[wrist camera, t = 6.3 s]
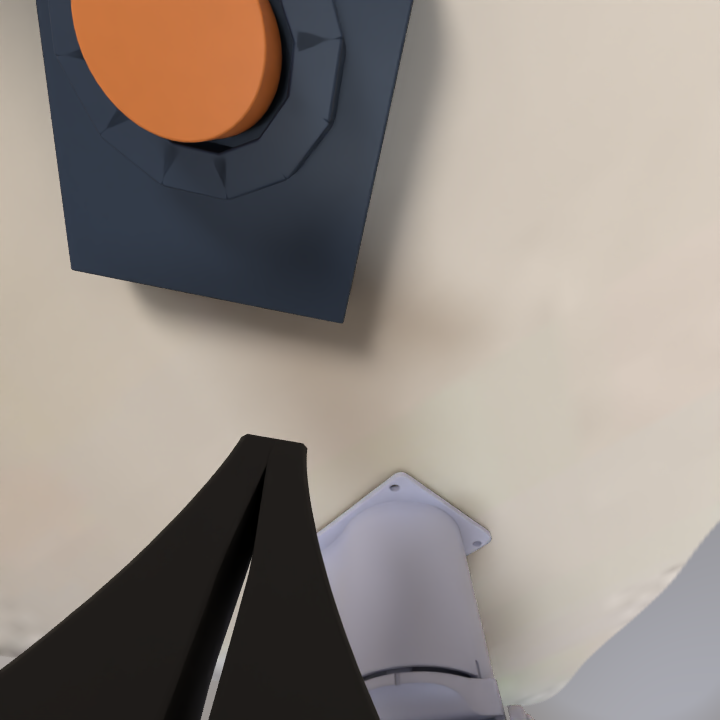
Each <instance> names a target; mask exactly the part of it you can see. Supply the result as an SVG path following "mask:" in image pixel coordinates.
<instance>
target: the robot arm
mask: <svg viewBox="0 0 720 720" xmlns="http://www.w3.org/2000/svg"><path fill="white" fill-rule="evenodd" d="M392 485H397V486H392ZM491 539H492V538H491V534H490V532H489V531H488V530H487V529H485V528H484V527H482V526H481V525H479V524H478V523H477V522H475V521H474V520H472V519H471V518H469V517H468V516H467V515H465V514H464V513H462V512H461V511H460V510H458V509H457V508H455V507H454V506H452V505H451V504H450V503H448V502H447V501H445V500H444V499H442V498H441V497H440V496H438V495H437V494H435V493H434V492H432V491H431V490H430V489H428V488H427V487H425V486H424V485H422V484H421V483H420V482H418V481H417V480H415V479H414V478H413V477H411V476H410V475H408V474H407V473H404V472H398V473H396V474H394V475H393V476H391V477H390V478H389V479H387V480H386V481H385V482H383V483H382V484H381V485H379V486H378V487H377V488H376V489H374V490H373V491H372V492H370V493H369V494H368V495H366V496H365V497H364V498H362V499H361V500H360V501H358V502H357V503H356V504H355V505H353V506H352V507H351V508H349V509H348V510H347V511H345V512H344V513H343V514H341V515H340V516H339V517H337V518H336V519H335V520H334V521H332V522H331V523H330V524H328V525H327V526H326V527H324V528H323V529H322V530H320V531H319V532H318V533H317V532H316V527H315V522H314V518H313V513H312V508H311V501H310V495H309V487H308V479H307V448H306V446H305V445H304V444H303V443H297V442H291V441H285V440H280V439H274V438H268V437H262V436H256V435H250V434H246V435H245V436H243V437H241V439H240V440H239V442H238V443H237V445H236V446H235V448H234V449H233V451H232V452H231V453H230V455H229V456H228V457H227V459H226V460H225V461H224V462H223V464H222V465H221V466H220V467H219V469H218V470H217V471H216V472H215V474H214V475H213V476H212V477H211V478H210V480H209V481H208V482H207V483H206V484H205V485H204V487H203V488H202V489H201V490H200V491H199V492H198V493H197V494H196V496H195V497H194V498H193V499H192V500H191V501H190V502H189V503H188V505H187V506H186V507H185V508H184V509H183V510H182V511H181V512H180V513H179V514H178V515H177V516H176V517H175V518H174V519H173V520H172V521H171V522H170V523H169V524H168V525H167V526H166V527H165V528H164V529H163V530H162V531H161V532H160V533H159V535H158V536H157V537H156V538H155V539H154V540H153V541H152V542H151V543H150V544H149V545H148V546H147V547H146V548H145V549H143V550H142V551H141V552H140V553H139V554H138V555H137V556H136V557H135V558H134V559H133V560H132V561H131V562H130V563H129V564H128V565H126V566H125V567H124V568H123V569H122V570H121V571H120V572H119V573H118V574H117V575H115V576H114V577H113V578H112V579H111V580H110V581H109V582H108V583H106V584H105V585H104V586H103V587H102V588H101V589H100V590H99V591H97V592H96V593H95V594H94V595H93V596H92V597H90V598H89V599H88V600H87V601H86V602H85V603H83V604H82V605H81V606H80V607H78V608H77V609H76V610H75V611H74V612H72V613H71V614H70V615H69V616H68V617H66V618H65V619H64V620H63V621H62V622H60V623H59V624H58V625H57V626H56V627H54V628H53V629H52V630H51V631H50V632H48V633H47V634H46V635H45V636H43V637H42V638H41V639H40V640H38V641H37V642H36V643H35V644H33V645H32V646H31V647H29V648H28V649H27V650H26V651H24V652H23V653H22V654H21V655H19V656H18V657H17V658H15V659H14V660H13V661H12V662H10V663H9V664H8V665H6V666H5V667H3V668H2V669H1V670H0V720H201V716H202V712H203V708H204V704H205V700H206V696H207V693H208V689H209V685H210V682H211V679H212V675H213V672H214V669H215V665H216V662H217V659H218V656H219V653H220V650H221V647H222V644H223V641H224V638H225V635H226V632H227V629H228V626H229V623H230V620H231V617H232V615H233V612H234V609H235V606H236V603H237V600H238V597H239V594H240V591H241V588H242V585H243V582H244V579H245V576H246V573H247V570H248V567H249V564H250V561H251V565H250V570H249V575H248V579H247V582H246V586H245V590H244V593H243V597H242V601H241V604H240V608H239V612H238V615H237V619H236V623H235V627H234V630H233V634H232V637H231V641H230V645H229V648H228V652H227V655H226V659H225V663H224V666H223V670H222V673H221V677H220V681H219V684H218V688H217V691H216V695H215V699H214V702H213V706H212V709H211V713H210V716H209V720H506V716H505V712H504V708H503V704H502V700H501V696H500V692H499V689H498V685H497V681H496V679H495V678H494V674H493V669H492V665H491V661H490V657H489V652H488V648H487V644H486V639H485V635H484V631H483V627H482V622H481V618H480V614H479V609H478V605H477V601H476V597H475V592H474V588H473V584H472V579H471V575H470V571H469V567H468V562H467V558H466V556H468V555H469V554H471V553H473V552H474V551H476V550H478V549H479V548H481V547H483V546H484V545H486V544H488V543H489V542H490V541H491ZM252 555H253V556H252ZM251 558H252V560H251ZM507 707H508V711H509V715H510V719H511V720H535V719H533V718H532V717H531V716H530V715H529V714H525V711H524V709H523V707H522V706H521V705H509V706H507Z"/></svg>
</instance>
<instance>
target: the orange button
mask: <svg viewBox="0 0 720 720" xmlns="http://www.w3.org/2000/svg"><path fill="white" fill-rule="evenodd" d="M71 11H72V17H73V24H74V28H75V32H76V36H77V40H78V43H79V46H80V49H81V51H82V54H83V57H84V59H85V61H86V63H87V65H88V67H89V70H90V71H91V73H92V75H93V76H94V78H95V80H96V82H97V83H98V85H99V86H100V87H101V89H102V90H103V92H104V93H105V94H106V96H107V97H108V98H109V99H110V100H111V102H112V103H113V104H114V105H115V106H116V107H117V108H118V109H119V110H120V111H121V112H122V113H123V114H124V115H125V116H126V117H128V118H129V119H130V120H132V121H133V122H134V123H136V124H137V125H138V126H140V127H142V128H143V129H145V130H147V131H148V132H150V133H153V134H155V135H157V136H159V137H162V138H165V139H168V140H172V141H178V142H186V143H196V142H204V141H210V140H216V139H223V138H229V137H232V136H235V135H238V134H240V133H242V132H245V131H246V130H248V129H249V128H251V127H252V126H254V125H255V124H256V123H257V122H258V121H259V120H260V119H261V118H262V117H263V115H264V114H265V113H266V112H267V110H268V108H269V107H270V105H271V103H272V101H273V99H274V97H275V94H276V92H277V88H278V85H279V81H280V76H281V69H282V47H281V39H280V33H279V28H278V25H277V21H276V17H275V15H274V12H273V10H272V7H271V4H270V2H269V0H71Z"/></svg>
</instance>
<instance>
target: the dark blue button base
mask: <svg viewBox="0 0 720 720" xmlns="http://www.w3.org/2000/svg"><path fill="white" fill-rule="evenodd" d="M269 2H270V4H271V7H272V10H273V12H274V15H275V17H276V21H277V25H278V28H279V33H280V39H281V47H282V69H281V76H280V81H279V85H278V88H277V92H276V94H275V97H274V99H273V101H272V103H271V105H270V107H269V108H268V110H267V112H266V113H265V114H264V115H263V117H262V118H261V119H260V120H259V121H258V122H257V123H256V124H255V125H254V126H252V127H251V128H249V129H248V130H246V131H245V132H242V133H240V134H238V135H235V136H232V137H229V138H223V139H216V140H210V141H204V142H196V143H186V142H178V141H172V140H168V139H165V138H162V137H159V136H157V135H155V134H153V133H150V132H148V131H147V130H145V129H143V128H142V127H140V126H138V125H137V124H136V123H134V122H133V121H132V120H130V119H129V118H128V117H126V116H125V115H124V114H123V113H122V112H121V111H120V110H119V109H118V108H117V107H116V106H115V105H114V104H113V103H112V102H111V100H110V99H109V98H108V97H107V96H106V94H105V93H104V92H103V90H102V89H101V87H100V86H99V85H98V83H97V82H96V80H95V78H94V76H93V75H92V73H91V71H90V70H89V67H88V65H87V63H86V61H85V59H84V57H83V54H82V51H81V49H80V46H79V43H78V40H77V36H76V32H75V28H74V24H73V17H72V11H71V0H36V5H37V13H38V21H39V28H40V36H41V43H42V51H43V58H44V66H45V73H46V81H47V89H48V96H49V104H50V111H51V119H52V126H53V134H54V142H55V149H56V157H57V164H58V172H59V179H60V187H61V194H62V202H63V210H64V217H65V225H66V232H67V240H68V247H69V255H70V262H71V269H72V270H75V271H80V272H85V273H90V274H95V275H100V276H105V277H110V278H115V279H120V280H125V281H130V282H135V283H140V284H145V285H150V286H155V287H160V288H165V289H170V290H175V291H180V292H185V293H190V294H195V295H200V296H205V297H210V298H215V299H220V300H225V301H230V302H236V303H241V304H246V305H251V306H256V307H261V308H266V309H271V310H276V311H281V312H286V313H291V314H296V315H301V316H306V317H311V318H316V319H321V320H326V321H331V322H336V323H343V322H344V318H345V314H346V309H347V305H348V300H349V295H350V291H351V286H352V282H353V277H354V272H355V268H356V263H357V259H358V254H359V249H360V245H361V240H362V235H363V231H364V226H365V222H366V217H367V212H368V208H369V203H370V199H371V194H372V189H373V185H374V180H375V176H376V171H377V166H378V162H379V157H380V153H381V148H382V143H383V139H384V134H385V129H386V125H387V120H388V116H389V111H390V106H391V102H392V97H393V93H394V88H395V83H396V79H397V74H398V70H399V65H400V60H401V56H402V51H403V47H404V42H405V37H406V33H407V28H408V23H409V19H410V14H411V10H412V5H413V0H269Z"/></svg>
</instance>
